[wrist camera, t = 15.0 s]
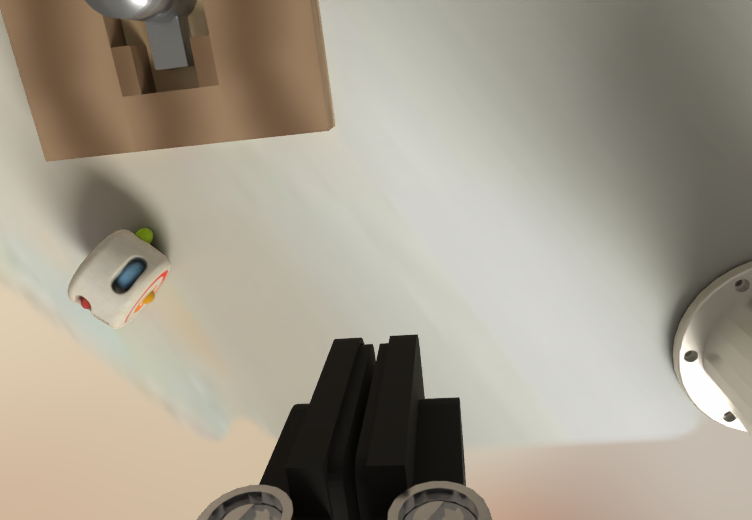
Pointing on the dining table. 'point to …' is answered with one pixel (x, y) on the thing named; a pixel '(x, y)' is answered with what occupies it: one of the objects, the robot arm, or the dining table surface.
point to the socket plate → (169, 76)
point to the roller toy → (119, 277)
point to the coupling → (157, 26)
